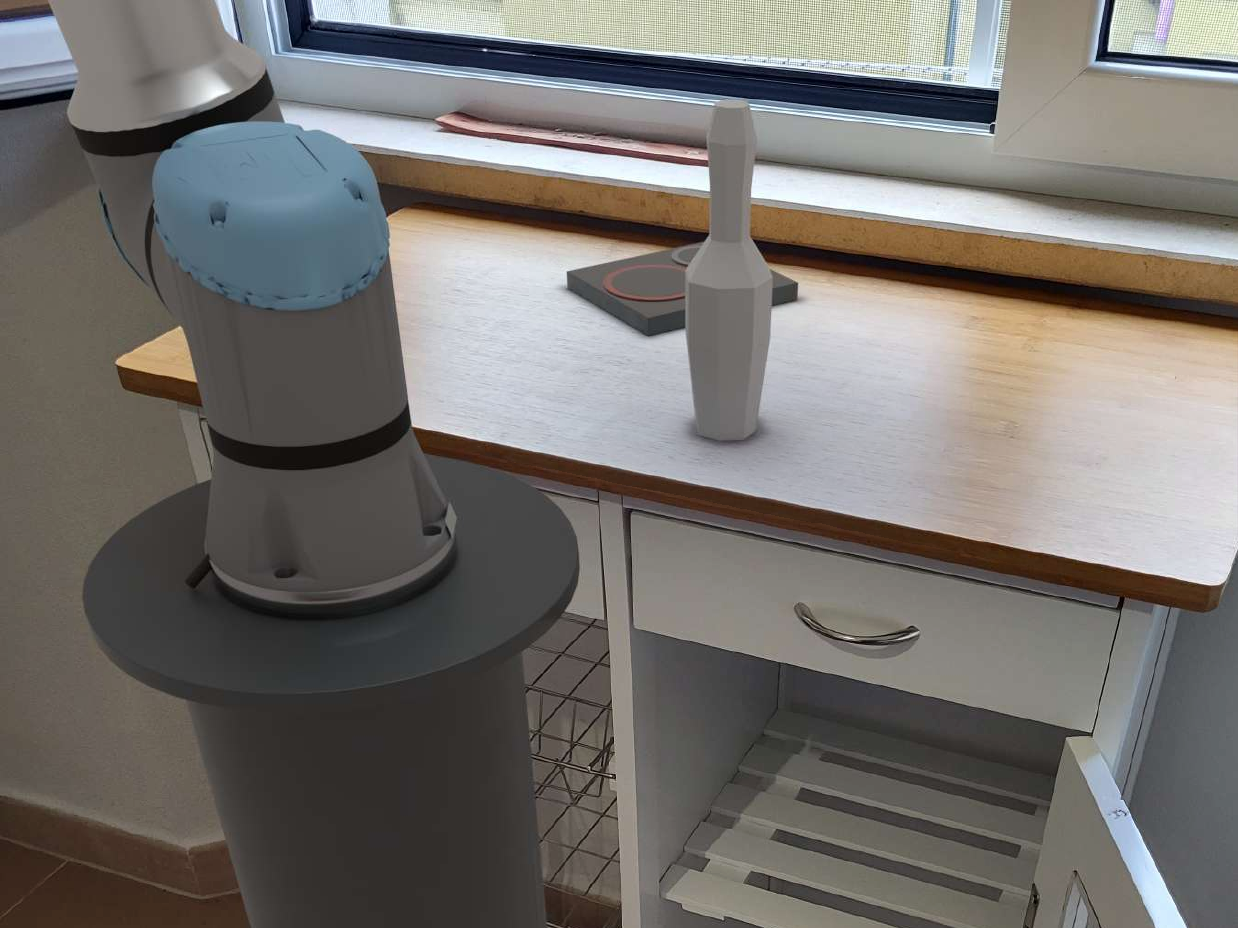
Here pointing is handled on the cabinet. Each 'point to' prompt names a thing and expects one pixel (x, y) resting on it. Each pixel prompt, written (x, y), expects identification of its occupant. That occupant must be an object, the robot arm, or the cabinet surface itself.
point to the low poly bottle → (728, 288)
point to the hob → (652, 288)
